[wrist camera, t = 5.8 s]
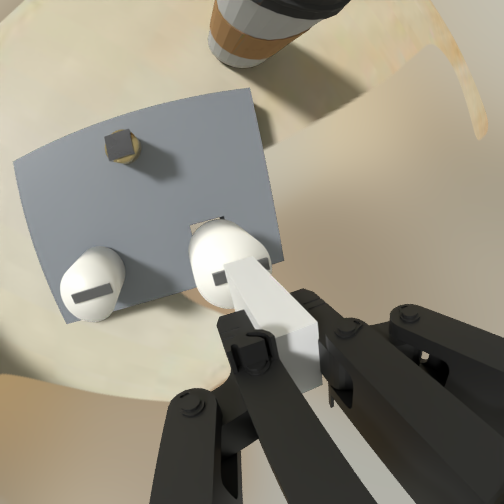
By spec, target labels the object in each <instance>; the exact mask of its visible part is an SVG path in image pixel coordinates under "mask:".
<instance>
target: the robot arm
mask: <svg viewBox="0 0 504 504" xmlns="http://www.w3.org/2000/svg"><path fill="white" fill-rule="evenodd" d="M223 267H224V270H225V274H226V278H227V282H228V286H229V289H230V293H231V297H232V301H233V304H234V308H235V312H234V313H230V314H227V315H224V316H221V317H219V320H218V322H217V328H218V331H219V334H220V337H221V340H222V343H223V346H224V349H225V352H226V355H227V358H228V361H229V363H230V366H231V373H230V376H229V377H228V379H227V380H226V381H225V382H224V384H222V385H221V386H220V387H218V388H216V389H215V390H213V391H211V392H210V391H208V390H205V389H202V388H193V389H189V390H185V391H183V392H181V393H179V394H177V395H176V396H175V397H174V398H173V399H172V400H171V402H170V405H169V407H168V410H167V415H166V420H165V424H164V429H163V433H162V438H161V443H160V448H159V454H158V458H157V464H156V469H155V474H154V480H153V485H152V491H151V497H150V503H149V504H243V498H242V472H241V450H242V449H243V448H245V447H247V446H248V445H250V444H251V443H253V442H254V441H256V440H257V439H259V441H260V443H261V446H262V448H263V450H264V453H265V455H266V457H267V459H268V462H269V464H270V466H271V468H272V471H273V473H274V475H275V477H276V479H277V482H278V484H279V486H280V488H281V490H282V492H283V494H284V496H285V498H286V500H287V503H288V504H377V502H376V501H375V500H374V498H373V497H372V495H371V494H370V493H369V491H368V490H367V488H366V487H365V486H364V485H363V483H362V482H361V480H360V479H359V477H358V476H357V474H356V473H355V472H354V470H353V469H352V467H351V466H350V465H349V463H348V462H347V460H346V459H345V457H344V456H343V454H342V453H341V452H340V450H339V449H338V447H337V446H336V444H335V443H334V441H333V440H332V438H331V437H330V435H329V434H328V433H327V431H326V430H325V428H324V427H323V425H322V424H321V422H320V421H319V419H318V418H317V416H316V415H315V413H314V412H313V410H312V408H311V407H310V405H309V404H308V402H307V401H306V399H305V398H304V396H303V395H302V393H304V392H307V391H309V390H312V389H314V388H316V387H318V386H320V385H322V375H323V376H324V377H325V378H326V380H327V381H328V386H329V404H330V407H331V408H332V407H333V406H334V400H335V401H336V402H337V404H338V405H339V406H340V408H341V409H342V410H343V412H344V413H345V414H346V415H347V417H348V418H349V419H350V421H351V422H352V423H353V425H354V426H355V427H356V429H357V430H358V431H359V432H360V434H361V435H362V436H363V438H364V439H365V440H366V441H367V443H368V444H369V445H370V447H371V448H372V449H373V450H374V452H375V453H376V454H377V455H378V457H379V458H380V459H381V461H382V462H383V463H384V464H385V465H386V467H387V468H388V469H389V471H390V472H391V473H392V474H393V476H394V477H395V478H396V479H397V481H398V482H399V483H400V484H401V486H402V487H403V488H404V489H405V490H406V492H407V493H408V494H409V495H410V497H411V498H412V499H413V500H414V501H415V503H416V504H504V338H502V337H500V336H498V335H495V334H492V333H490V332H487V331H485V330H482V329H479V328H477V327H474V326H471V325H469V324H466V323H464V322H461V321H458V320H456V319H453V318H450V317H448V316H445V315H442V314H440V313H437V312H434V311H432V310H429V309H426V308H424V307H421V306H418V305H413V304H405V305H400V306H398V307H396V308H394V309H393V310H392V311H391V313H390V321H388V322H384V323H380V324H375V325H368V324H366V323H365V322H363V321H361V320H360V319H355V318H343V317H342V316H341V315H340V314H339V313H338V312H336V311H335V310H334V309H333V308H332V307H331V306H329V305H328V304H327V303H325V302H324V300H322V299H320V297H319V296H317V294H315V293H314V292H312V291H309V290H306V289H300V290H297V291H294V292H291V293H288V291H287V290H286V289H284V287H283V286H281V284H280V283H279V282H278V281H277V280H276V279H275V278H274V277H272V275H271V274H270V273H269V272H268V271H267V270H266V269H265V268H264V267H263V266H262V265H261V264H260V263H259V262H258V261H257V260H256V259H255V258H254V257H253V256H251V257H247V258H244V259H240V260H237V261H234V262H230V263H227V264H223ZM422 351H424V352H426V353H428V354H429V358H428V359H426V360H425V359H422V358H421V356H422Z"/></svg>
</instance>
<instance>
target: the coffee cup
mask: <svg viewBox="0 0 504 504" xmlns="http://www.w3.org/2000/svg"><path fill="white" fill-rule="evenodd" d="M350 1H351V0H215V3H214V7H213V12H212V17H211V22H210V31H209V37H208V44H209V48H210V50H211V52H212V54H213V55H214V56H215V57H216V58H217V59H218V60H220V61H221V62H223V63H225V64H227V65H230V66H232V67H238V68H250V67H253V66H257V65H259V64H260V63H262V62H264V61H265V60H266V59H267V58H269V57H271V56H272V55H274V54H275V53H277V52H278V51H279V50H281V49H282V48H284V47H285V46H286V45H288V44H289V43H291V42H292V41H293V40H295V39H296V38H298V37H299V36H301V35H302V34H304V33H305V32H307V31H308V30H309V29H310V28H311V27H312V26H313V25H315V24H317V23H318V22H320V21H321V20H323V19H327V18H329V17H332V16H334V15H337V14H338V13H339V12H340V11H341V10H342V9H343V8H344V6H345V5H347V4H348V3H349V2H350Z"/></svg>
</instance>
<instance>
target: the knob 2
mask: <svg viewBox="0 0 504 504" xmlns="http://www.w3.org/2000/svg"><path fill="white" fill-rule="evenodd" d="M188 253H189V259H190V263H191V267H192V271H193V275H194V279H195V283H196V286H197V288H198V290H199V292H200V294H201V295H202V296H203V297H204V298H205V299H206V300H207V301H208V302H210V303H211V304H213V305H215V306H218V307H222V308H227V309H233V308H234V304H233V301H232V297H231V293H230V289H229V286H228V282H227V278H226V274H225V270H224V267H223V264H227V263H230V262H234V261H237V260H240V259H244V258H247V257H251V256H253V257H254V258H255V259H256V260H257V261H258V262H259V263H260V264H261V265H262V266H263V267H264V268H265V269H266V270H267V271H268V272H269V273H270V274H271V273H272V264H271V259H270V256H269V253H268V252H267V250H266V248H265V247H264V246H263V245H262V244H261V243H260V242H259V241H258V240H256V239H255V238H254V237H253V236H251V235H250V234H249V233H247V232H246V231H245V230H244V229H242V228H241V227H240V226H238V225H237V224H236V223H234V222H232V221H229V220H224V219H218V220H212V221H209V222H207V223H205V224H203V225H201V226H200V227H199V228H198V229H197V230H196V231H195V232H194V234H193V235H192V237H191V239H190V242H189V248H188Z"/></svg>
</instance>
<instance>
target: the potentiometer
mask: <svg viewBox="0 0 504 504" xmlns="http://www.w3.org/2000/svg"><path fill="white" fill-rule="evenodd" d="M104 139H105V153H106V155H107V157H108V158H109V161H110V162H112V161H113V162H117V163H122V164H130V163H132V162H134V161H135V160H137V158H138V157H139V156H140V153H141V143H140V141H139V140H138V138H137V137H136V136H135V135H134V134H133V133H132V132H131V131H130V129H126V130H124V129H121V130H117V131H115V132H113V133H112V134H110V135H108V136H105V137H104Z"/></svg>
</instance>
